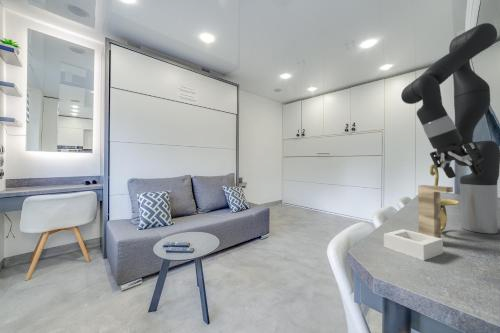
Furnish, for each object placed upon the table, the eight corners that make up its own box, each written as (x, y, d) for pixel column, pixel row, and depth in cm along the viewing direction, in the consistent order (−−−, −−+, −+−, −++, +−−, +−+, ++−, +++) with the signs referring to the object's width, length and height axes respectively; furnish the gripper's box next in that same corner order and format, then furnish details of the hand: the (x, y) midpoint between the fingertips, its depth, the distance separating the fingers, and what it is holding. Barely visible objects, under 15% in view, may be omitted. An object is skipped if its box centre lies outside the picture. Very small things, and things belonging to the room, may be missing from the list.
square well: (403, 241, 65) (403, 229, 65) (443, 253, 56) (442, 238, 56) (383, 246, 61) (383, 233, 61) (423, 260, 52) (423, 245, 52)
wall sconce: (454, 240, 66) (447, 164, 65) (418, 233, 74) (411, 166, 73) (464, 228, 73) (458, 161, 73) (431, 223, 81) (425, 162, 81)
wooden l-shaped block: (425, 238, 67) (424, 185, 67) (453, 246, 61) (452, 186, 61) (418, 240, 65) (418, 185, 65) (447, 248, 59) (446, 187, 59)
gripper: (473, 121, 61) (501, 170, 59) (433, 134, 75) (454, 174, 73) (450, 129, 61) (477, 179, 59) (414, 141, 75) (435, 181, 73)
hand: (464, 176), depth 66 cm, fingers open, 8 cm apart
